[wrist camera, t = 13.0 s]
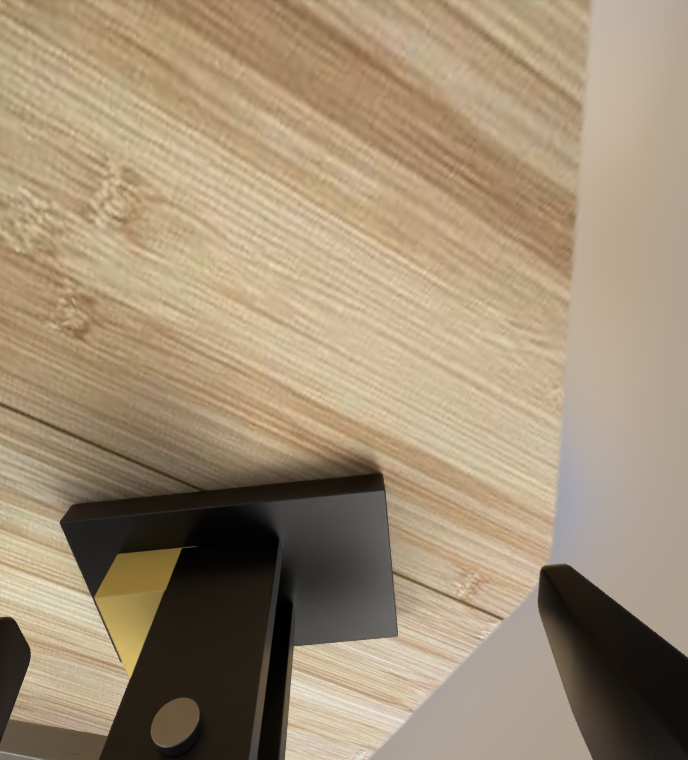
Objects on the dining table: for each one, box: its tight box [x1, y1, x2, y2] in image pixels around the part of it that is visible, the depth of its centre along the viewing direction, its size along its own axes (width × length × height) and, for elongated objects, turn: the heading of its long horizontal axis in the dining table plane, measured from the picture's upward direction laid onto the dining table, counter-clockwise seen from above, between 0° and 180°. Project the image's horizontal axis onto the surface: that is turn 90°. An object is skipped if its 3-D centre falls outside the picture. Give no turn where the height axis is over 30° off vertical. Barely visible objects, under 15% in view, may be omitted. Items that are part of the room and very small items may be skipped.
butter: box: [94, 546, 197, 679], centre depth 22 cm, size 5×4×2 cm
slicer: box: [60, 474, 398, 760], centre depth 19 cm, size 14×9×11 cm, turn 96°
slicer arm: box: [0, 719, 108, 760], centre depth 17 cm, size 13×6×2 cm, turn 96°
